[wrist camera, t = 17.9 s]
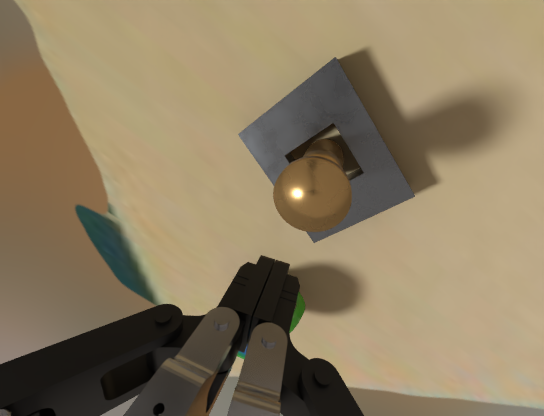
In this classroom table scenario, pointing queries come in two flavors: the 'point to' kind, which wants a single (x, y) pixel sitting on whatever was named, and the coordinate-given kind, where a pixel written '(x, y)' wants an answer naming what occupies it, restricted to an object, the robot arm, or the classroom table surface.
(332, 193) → the brass flanged peg
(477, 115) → the classroom table surface
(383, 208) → the plate
